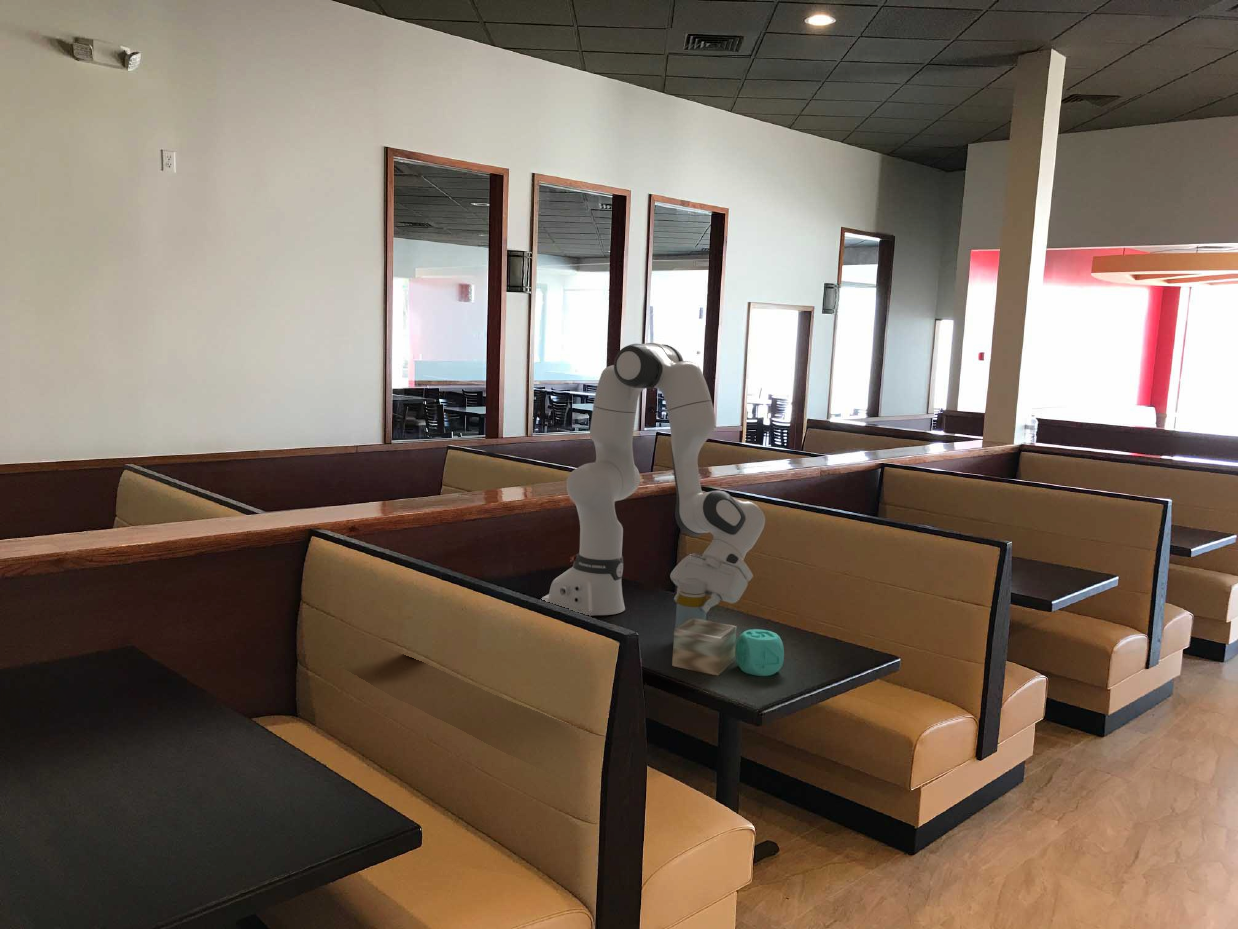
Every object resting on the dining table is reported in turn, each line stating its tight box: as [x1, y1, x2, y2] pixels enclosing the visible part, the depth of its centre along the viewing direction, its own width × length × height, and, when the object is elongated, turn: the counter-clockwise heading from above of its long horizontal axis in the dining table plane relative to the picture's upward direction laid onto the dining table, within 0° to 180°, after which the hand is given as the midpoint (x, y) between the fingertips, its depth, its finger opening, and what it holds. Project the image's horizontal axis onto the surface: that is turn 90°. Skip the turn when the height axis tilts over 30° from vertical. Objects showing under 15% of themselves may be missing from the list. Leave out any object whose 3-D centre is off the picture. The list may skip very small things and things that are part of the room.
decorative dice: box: [735, 628, 785, 677], centre depth 202 cm, size 8×8×8 cm
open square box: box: [671, 618, 738, 676], centre depth 204 cm, size 11×11×8 cm
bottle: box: [674, 578, 707, 629], centre depth 217 cm, size 7×7×15 cm
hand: (689, 606), depth 217 cm, fingers closed on bottle, 7 cm apart
